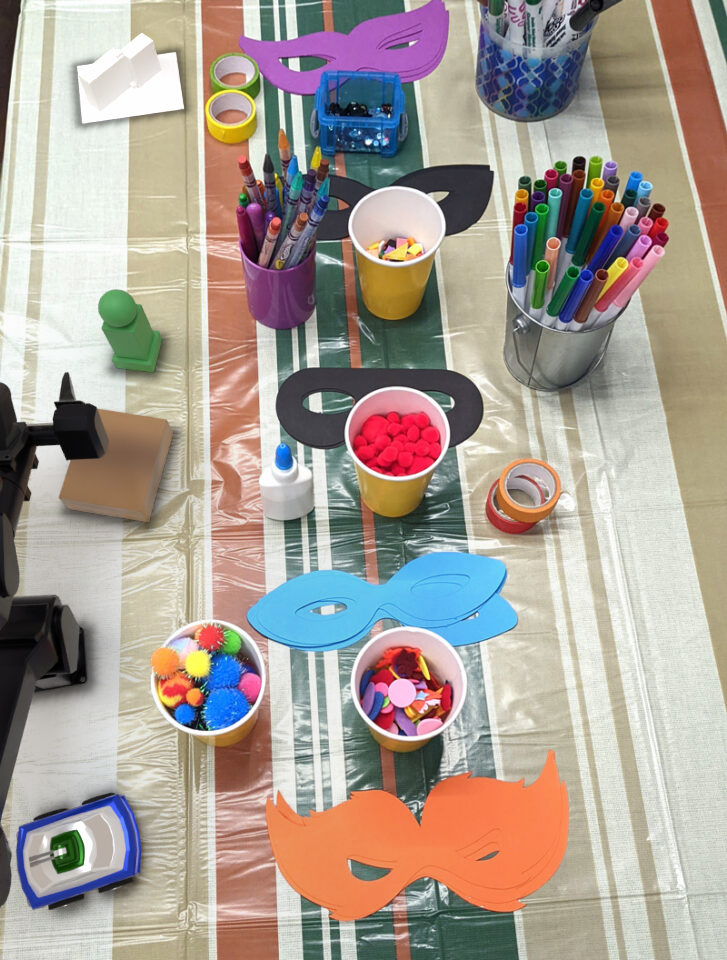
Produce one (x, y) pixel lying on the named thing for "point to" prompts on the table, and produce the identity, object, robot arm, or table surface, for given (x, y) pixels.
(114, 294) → the toy pawn
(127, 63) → the napkin holder
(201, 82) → the table surface
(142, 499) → the oak block
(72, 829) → the toy car
